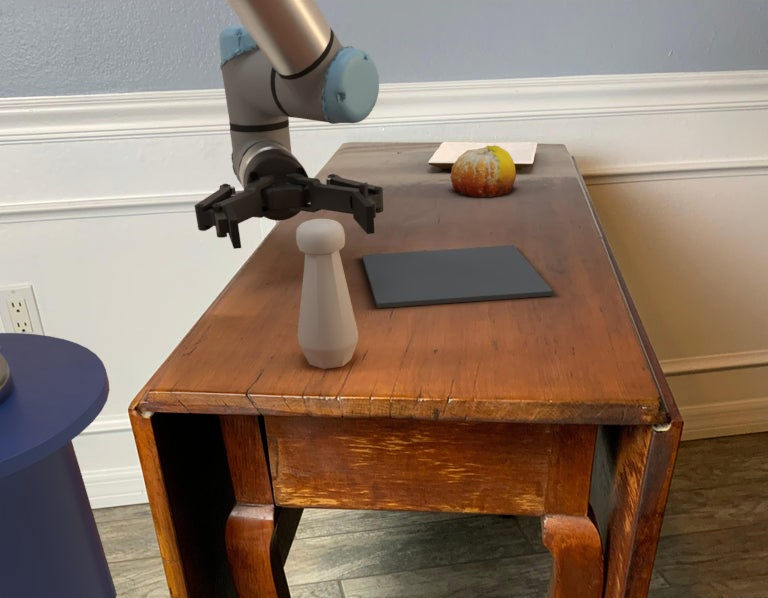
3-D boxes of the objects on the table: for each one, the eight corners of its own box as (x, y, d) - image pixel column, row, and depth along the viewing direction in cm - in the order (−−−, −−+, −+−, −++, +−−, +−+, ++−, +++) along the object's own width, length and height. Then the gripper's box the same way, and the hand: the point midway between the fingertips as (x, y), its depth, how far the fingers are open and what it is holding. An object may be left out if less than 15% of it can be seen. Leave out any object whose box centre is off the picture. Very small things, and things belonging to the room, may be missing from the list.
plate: (441, 153, 158) (442, 141, 157) (536, 153, 155) (537, 141, 153) (427, 173, 143) (427, 161, 142) (532, 174, 140) (532, 162, 138)
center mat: (376, 308, 88) (376, 303, 87) (362, 259, 103) (362, 254, 102) (552, 296, 89) (553, 290, 89) (513, 249, 104) (513, 244, 104)
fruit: (453, 179, 137) (468, 130, 132) (510, 199, 136) (527, 151, 131) (440, 192, 128) (455, 141, 123) (500, 214, 127) (518, 164, 122)
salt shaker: (364, 368, 75) (357, 227, 67) (304, 375, 74) (290, 233, 67) (353, 345, 80) (345, 211, 72) (296, 351, 79) (283, 216, 71)
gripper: (375, 203, 100) (424, 251, 83) (175, 224, 96) (183, 279, 79) (372, 139, 96) (423, 175, 79) (163, 157, 91) (169, 200, 74)
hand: (304, 227), depth 79 cm, fingers open, 13 cm apart
